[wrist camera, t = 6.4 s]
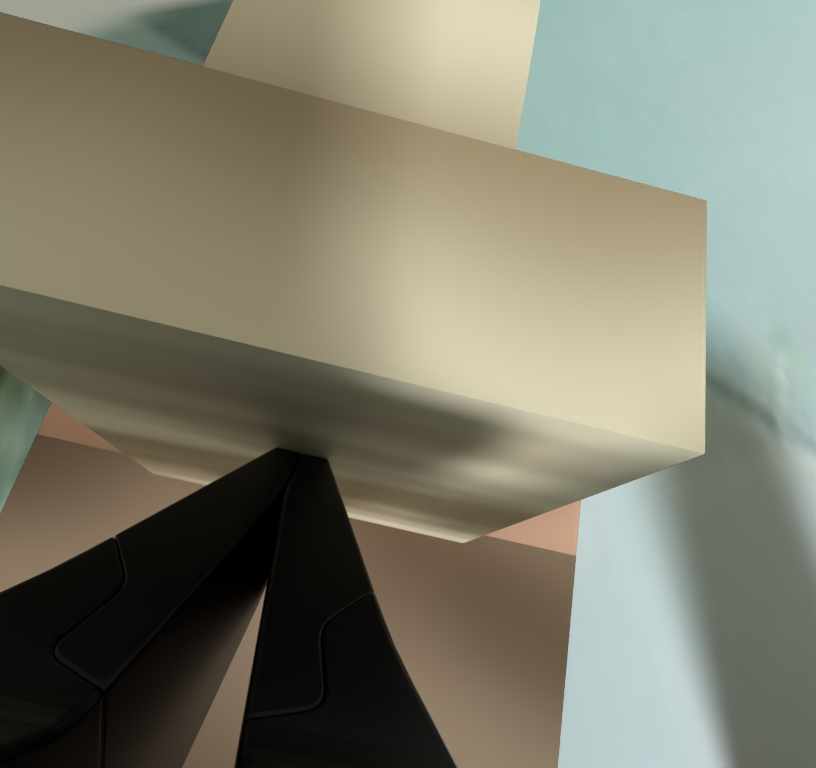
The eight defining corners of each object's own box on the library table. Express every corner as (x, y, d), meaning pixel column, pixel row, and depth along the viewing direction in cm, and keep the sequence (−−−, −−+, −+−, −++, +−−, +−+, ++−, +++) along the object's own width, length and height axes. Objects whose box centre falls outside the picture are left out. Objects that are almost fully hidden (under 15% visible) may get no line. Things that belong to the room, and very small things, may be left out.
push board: (477, 1384, 11) (495, 1478, 9) (-311, 1277, 10) (-393, 1365, 9) (587, 263, 20) (603, 242, 19) (184, 159, 19) (176, 131, 18)
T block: (463, 543, 15) (705, 454, 5) (152, 473, 14) (-171, 244, 5) (513, 227, 18) (708, -150, 9) (267, 164, 18) (207, -304, 9)
